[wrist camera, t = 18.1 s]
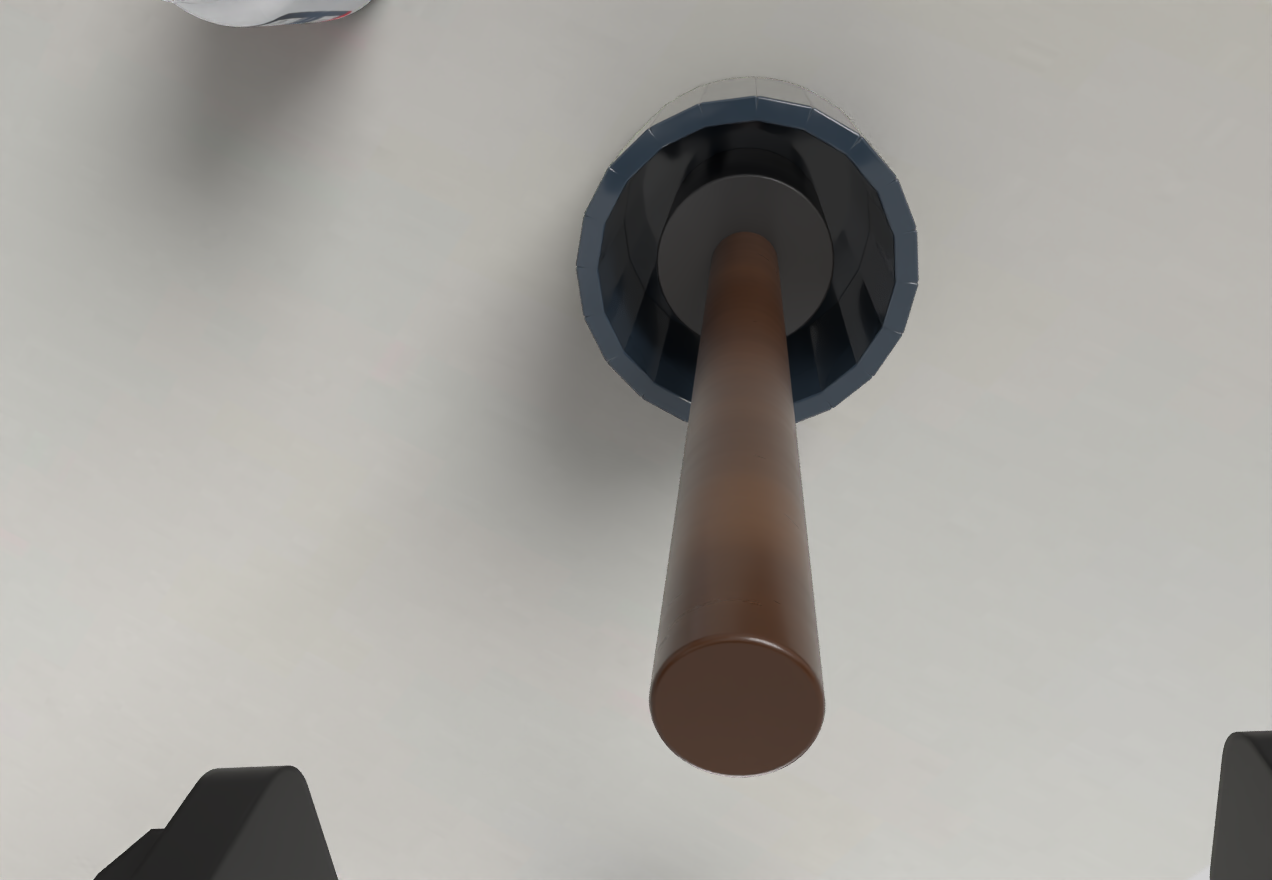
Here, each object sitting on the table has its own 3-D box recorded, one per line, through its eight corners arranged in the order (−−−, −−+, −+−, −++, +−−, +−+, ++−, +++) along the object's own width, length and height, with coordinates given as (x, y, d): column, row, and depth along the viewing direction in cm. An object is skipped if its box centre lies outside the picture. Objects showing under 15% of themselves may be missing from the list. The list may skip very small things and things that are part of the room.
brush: (660, 157, 32) (462, 518, 10) (817, 138, 31) (978, 481, 9) (678, 307, 34) (546, 891, 12) (826, 292, 33) (981, 883, 11)
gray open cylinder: (591, 96, 32) (551, 122, 26) (879, 58, 31) (913, 74, 24) (629, 362, 35) (603, 443, 29) (890, 337, 34) (922, 417, 28)
